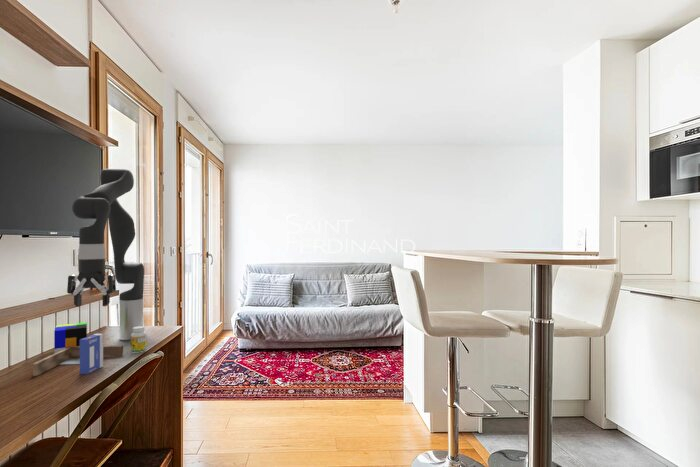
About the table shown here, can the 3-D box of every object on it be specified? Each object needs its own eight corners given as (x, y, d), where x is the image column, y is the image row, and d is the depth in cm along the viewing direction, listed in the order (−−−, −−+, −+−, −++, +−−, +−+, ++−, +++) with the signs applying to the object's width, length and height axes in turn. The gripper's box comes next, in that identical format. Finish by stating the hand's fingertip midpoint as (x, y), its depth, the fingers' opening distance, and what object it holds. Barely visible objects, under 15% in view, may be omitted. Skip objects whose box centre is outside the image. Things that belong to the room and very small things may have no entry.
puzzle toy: (54, 357, 147) (54, 330, 147) (56, 351, 156) (56, 325, 156) (86, 353, 153) (86, 327, 153) (86, 347, 161) (86, 322, 161)
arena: (69, 357, 148) (69, 346, 148) (123, 356, 149) (123, 345, 149) (33, 375, 129) (33, 363, 129) (94, 374, 130) (94, 362, 130)
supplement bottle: (148, 352, 155) (148, 327, 155) (133, 355, 151) (133, 329, 151) (143, 349, 158) (143, 325, 158) (128, 352, 154) (128, 327, 154)
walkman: (87, 375, 129) (87, 338, 129) (79, 375, 129) (79, 338, 129) (104, 367, 137) (104, 332, 137) (96, 367, 137) (96, 332, 137)
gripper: (119, 256, 137) (119, 303, 137) (76, 257, 136) (76, 304, 136) (108, 258, 130) (108, 308, 130) (62, 258, 129) (62, 308, 129)
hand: (91, 306), depth 133 cm, fingers open, 8 cm apart
